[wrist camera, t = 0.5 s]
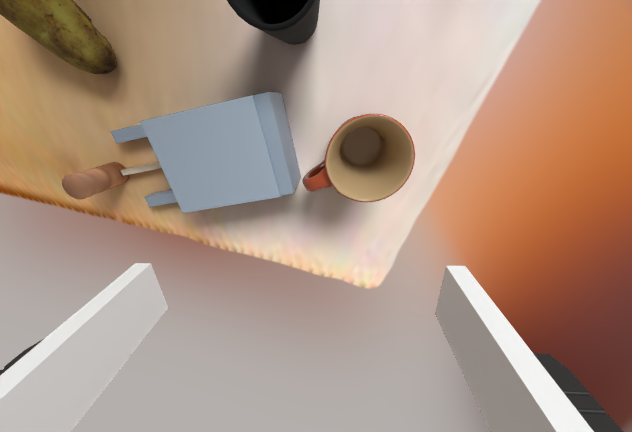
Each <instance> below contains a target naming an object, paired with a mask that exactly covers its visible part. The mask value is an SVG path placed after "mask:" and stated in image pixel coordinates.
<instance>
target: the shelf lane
mask: <svg viewBox="0 0 632 432" xmlns="http://www.w3.org/2000/svg"><path fill="white" fill-rule="evenodd" d="M140 123H141V124H140V125H136V126H132V127H127V128H123V129H119V130H114V131H110V132H111V134H112V136H113V138H114V140H115V142H116V144H117V143H121V142H126V141H131V140H135V139H140V138H144V137H147V138H148V140H149V142H150V144H151V146H152V148H153V150H154V153H155V155H156V157H157V159H158V161H159V163H160V165H161V168H162V170H163V172H164V174H165V176H166V178H167V180H168V183H169V185H170V187H171V190H166V191H160V192H155V193H152V194H150V195H148V196H146V197H145V199H146V201H147V203H148V205H149V207H153V206H158V205H164V204H170V203H176V202H178V204H179V206H180V208H181V211H182V213H187V212H193V211H199V210H205V209H211V208H217V207H223V206H229V205H235V204H241V203H247V202H253V201H259V200H265V199H271V198H277V197H281V195H287V194H293V193H294V192H295V189H296V187H297V185H298V182H299V180H300V178H301V175H300V171H299V166H298V162H297V158H296V153H295V149H294V145H293V140H292V136H291V132H290V127H289V123H288V119H287V114H286V110H285V106H284V102H283V97H282V93H277V92H265V93H261V94H257V95H251V96H246V97H242V98H238V99H233V100H229V101H225V102H221V103H216V104H212V105H208V106H203V107H199V108H195V109H191V110H186V111H182V112H178V113H173V114H169V115H165V116H160V117H156V118H152V119H148V120H143V121H140Z"/></svg>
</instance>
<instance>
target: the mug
mask: <svg viewBox="0 0 632 432" xmlns="http://www.w3.org/2000/svg"><path fill="white" fill-rule="evenodd" d="M414 160H415V149H414V144H413V141H412V138H411V136H410V134H409V133H408V131H407V130H406V128H405V127H404V126H403V125H402V124H401V123H399V122H398V121H397V120H395V119H393V118H391V117H389V116H386V115H381V114H365V115H361V116H357V117H353V118H351V119H349V120H347V121H346V122H345V123H343V124H342V125H341V126H340V127H339V129H338V130H337V131H336V133H335V134H334V135H333V137H332V138H331V140H330V142H329V145H328V147H327V151H326V156H325V160H324V161H323V162H322V163H320V164H319V165H317V166H316V167H314V168H313V169H312V170H310V171H309V172H308V173H307V174H306V175H305V176H304V178H303V184H304V186H305V188H306V189H307V191H310V192H313V191H317V190H320V189H322V188H327V187H332V186H333V187H334V188H335V189H336V190H337V191H338V192H339V193H340V194H342V195H343V196H345V197H347V198H349V199H352V200H355V201H359V202H374V201H379V200H382V199H385V198H387V197H389V196H391V195H392V194H394V193H395V192H397V191H398V190H399V189H400V188H401V187H402V186H403V185H404V184H405V182H406V181H407V179H408V178H409V176H410V174H411V172H412V169H413V165H414Z"/></svg>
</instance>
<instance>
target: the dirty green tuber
mask: <svg viewBox="0 0 632 432" xmlns="http://www.w3.org/2000/svg"><path fill="white" fill-rule="evenodd" d="M0 14H1V15H2V16H3V17H5V18H6V19H7V20H9V21H10V22H11V23H12V24H14V25H15V26H16V27H18V28H19V29H21V30H22V31H23V32H25V33H26V34H28V35H29V36H31V37H32V38H33V39H35V40H36V41H38V42H39V43H40V44H41V45H43V46H44V47H46V48H47V49H48V50H50V51H51V52H53V53H54V54H55V55H57V56H58V57H60V58H62V59H63V60H65V61H66V62H68V63H70V64H72V65H73V66H75V67H78V68H80V69H82V70H85V71H87V72H90V73H94V74H107V73H109V72H111V71H113V70H114V69H115V68H116V57H115V54H114V51H113V49H112V47H111V44H110V43H109V42H108V40H107V39H106V38H105V36H103V35H101V34H100V33H99V32H98V31H97V29H96V28H95V27H94V26H93V24H92V23H91V19H90V18H89V17H88V16H87V15H86V14H85V13H84V11H83V10H82V9H81V8H80V7H79V6H78V5H77V4H76V3H75V2H74V1H73V0H0Z"/></svg>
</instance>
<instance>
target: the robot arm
mask: <svg viewBox="0 0 632 432" xmlns="http://www.w3.org/2000/svg"><path fill="white" fill-rule="evenodd" d="M167 309H168V306H167V303H166V301H165V298H164V296H163V293H162V291H161V288H160V285H159V283H158V280H157V278H156V276H155V273H154V270H153V268H152V265H151V264H150V263H149V264H145V263H143V264H142V263H140V264H139V263H136V264H134V265H133V266H131V267H130V268H129V269H128V270H127V271H125V272H124V273H123V274H122V275H121V276H120V277H118V278H117V279H116V280H115V281H114V282H112V283H111V284H110V285H109V286H107V287H106V288H105V289H104V290H103V291H101V292H100V293H99V294H98V295H97V296H95V297H94V298H93V299H92V300H91V301H89V302H88V303H87V304H86V305H85V306H84V307H82V308H81V309H80V310H79V311H77V312H76V313H75V314H74V315H73V316H71V317H70V318H69V319H68V320H66V322H64V323H63V324H62V325H61V326H59V327H58V328H57V329H56V330H54V331H53V332H52V333H51V334H50V335H48V337H46V338H45V339H43V340H41V341H39V342H38V343H36V344H34V345H33V346H31V347H29V348H28V349H26V350H25V351H23V352H22V353H21V354H19V355H18V356H17V357H16V358H15V359H13V360H12V361H11V362H10V363H8V364H7V365H6V366H5V368H4V369H3V370H0V432H71V431H72V430H73V428H74V427H75V426H76V424H77V423H78V422H79V421H80V419H81V418H82V417H83V416H84V414H85V413H86V412H87V410H88V409H89V408H90V407H91V405H92V404H93V403H94V402H95V400H96V399H97V398H98V397H99V395H100V394H101V393H102V392H103V390H104V389H105V388H106V386H107V385H108V384H109V383H110V381H111V380H112V379H113V378H114V376H115V375H116V374H117V372H118V371H119V370H120V368H121V367H122V366H123V365H124V364H125V362H126V361H127V360H128V359H129V357H130V356H131V355H132V353H133V352H134V351H135V350H136V348H137V347H138V346H139V345H140V343H141V342H142V341H143V340H144V338H145V337H146V336H147V334H148V333H149V332H150V331H151V329H152V328H153V327H154V326H155V324H156V323H157V322H158V321H159V319H160V318H161V317H162V315H163V314H164V313H165V312H166V310H167ZM435 315H436V317H437V319H438V321H439V323H440V325H441V327H442V330H443V332H444V334H445V336H446V338H447V340H448V343H449V345H450V347H451V349H452V351H453V353H454V355H455V358H456V360H457V362H458V364H459V366H460V368H461V370H462V373H463V374H464V377H465V379H466V381H467V383H468V385H469V387H470V390H471V392H472V394H473V396H474V398H475V400H476V403H477V405H478V407H479V409H480V411H481V413H482V415H483V418H484V420H485V422H486V424H487V426H488V428H489V430H490V432H623V431H622V430H621V429H620V427H619V426H618V425H617V424H616V423H615V422H614V420H613V419H612V418H611V417H610V416H609V415H607V414H606V413H605V412H604V409H603V408H602V407H601V406H600V404H599V403H598V402H597V401H596V400H595V399H594V397H593V396H590V395H589V392H588V390H587V389H586V388H585V387H584V386H583V385H582V384H581V382H580V381H579V380H578V379H577V378H576V377H575V375H574V374H573V373H572V372H571V371H570V370H569V369H567V368H566V367H565V366H564V365H562V364H561V363H560V362H559V361H557V360H556V359H555V358H553V357H552V356H551V355H550V354H533V353H532V351H531V350H530V349H529V348H528V346H527V345H526V344H525V343H524V341H523V340H522V339H521V337H520V336H519V335H518V333H517V332H516V331H515V330H514V328H513V327H512V326H511V324H510V323H509V322H508V321H507V319H506V318H505V317H504V315H503V314H502V313H501V312H500V310H499V309H498V308H497V307H496V305H495V304H494V303H493V301H492V300H491V299H490V297H489V296H488V295H487V294H486V292H485V291H484V290H483V288H482V287H481V286H480V285H479V284H478V282H477V281H476V279H475V278H474V277H473V276H472V274H471V273H470V272H469V271H468V269H467V268H466V267H465V266H446V269H445V273H444V277H443V282H442V286H441V290H440V295H439V299H438V304H437V308H436V312H435Z"/></svg>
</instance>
